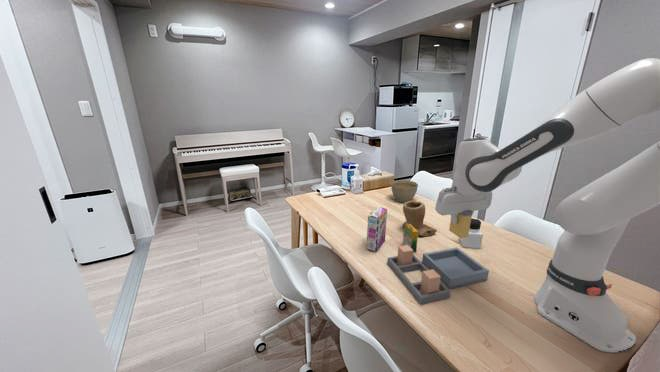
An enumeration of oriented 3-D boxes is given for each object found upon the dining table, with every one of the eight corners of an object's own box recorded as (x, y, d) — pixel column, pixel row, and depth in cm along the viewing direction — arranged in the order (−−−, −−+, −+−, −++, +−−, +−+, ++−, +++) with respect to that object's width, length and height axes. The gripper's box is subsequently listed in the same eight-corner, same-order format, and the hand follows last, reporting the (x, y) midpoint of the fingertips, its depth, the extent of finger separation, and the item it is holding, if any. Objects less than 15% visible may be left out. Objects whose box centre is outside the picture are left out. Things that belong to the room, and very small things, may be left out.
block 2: (437, 296, 88) (440, 276, 85) (427, 299, 87) (430, 278, 84) (430, 288, 91) (433, 269, 89) (420, 290, 90) (422, 271, 88)
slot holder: (449, 297, 87) (450, 291, 87) (420, 304, 85) (421, 298, 84) (411, 258, 108) (412, 253, 108) (387, 263, 106) (387, 257, 105)
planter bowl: (400, 193, 179) (401, 178, 175) (421, 200, 167) (423, 184, 163) (384, 199, 169) (385, 183, 166) (406, 207, 157) (407, 190, 154)
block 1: (411, 268, 102) (413, 250, 100) (402, 269, 101) (403, 251, 99) (405, 262, 106) (407, 244, 104) (397, 263, 105) (398, 246, 103)
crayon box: (416, 251, 113) (419, 227, 109) (410, 252, 112) (412, 228, 109) (408, 242, 120) (410, 219, 116) (402, 243, 119) (404, 220, 115)
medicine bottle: (480, 248, 114) (485, 224, 110) (462, 247, 116) (466, 222, 112) (475, 240, 121) (479, 216, 117) (458, 239, 122) (462, 215, 118)
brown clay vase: (395, 228, 133) (397, 200, 128) (412, 222, 139) (414, 195, 134) (420, 241, 121) (423, 211, 116) (437, 234, 127) (440, 205, 122)
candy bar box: (376, 253, 113) (378, 218, 107) (366, 249, 115) (367, 215, 110) (385, 241, 122) (387, 208, 116) (375, 238, 124) (377, 206, 119)
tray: (487, 280, 95) (489, 270, 94) (449, 288, 91) (450, 279, 90) (455, 255, 110) (457, 247, 108) (422, 262, 106) (423, 253, 104)
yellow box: (467, 237, 93) (472, 211, 90) (460, 238, 92) (465, 212, 89) (456, 229, 99) (459, 204, 95) (449, 230, 98) (452, 205, 94)
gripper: (446, 192, 84) (440, 230, 88) (498, 185, 89) (490, 222, 93) (433, 185, 90) (429, 222, 94) (483, 180, 95) (476, 215, 99)
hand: (460, 222), depth 94 cm, fingers closed on yellow box, 3 cm apart
